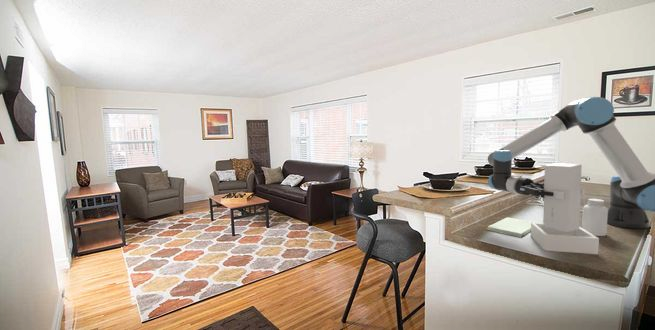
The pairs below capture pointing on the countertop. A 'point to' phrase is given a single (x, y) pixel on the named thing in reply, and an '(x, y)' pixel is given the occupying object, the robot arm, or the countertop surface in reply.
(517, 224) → the cutting board
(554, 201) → the tall white carton
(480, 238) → the countertop surface
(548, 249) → the tray
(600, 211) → the pill bottle
